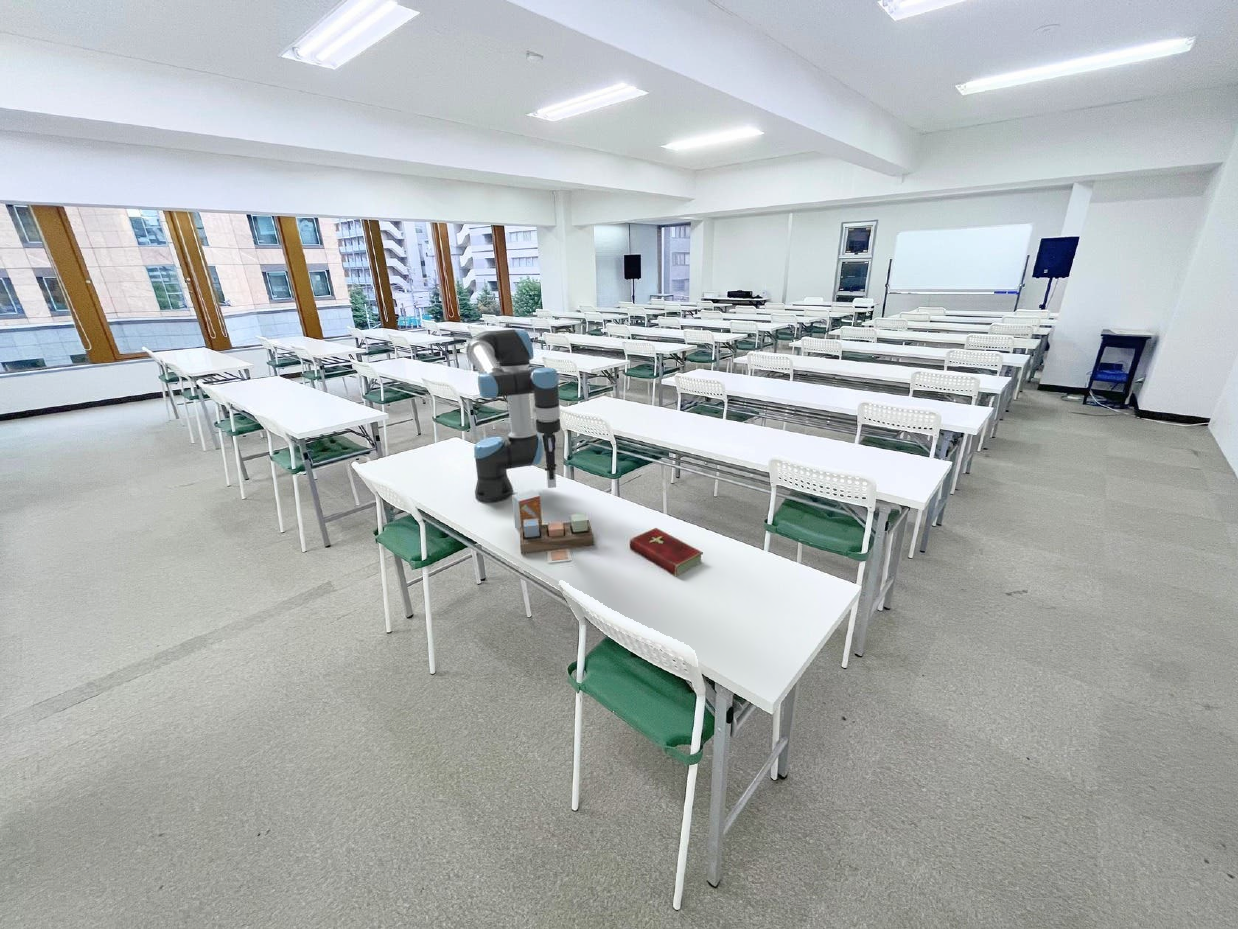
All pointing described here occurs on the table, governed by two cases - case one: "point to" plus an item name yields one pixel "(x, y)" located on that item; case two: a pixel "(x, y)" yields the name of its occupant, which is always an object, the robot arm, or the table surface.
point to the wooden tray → (556, 539)
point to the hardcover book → (665, 551)
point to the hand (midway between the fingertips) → (551, 486)
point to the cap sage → (579, 522)
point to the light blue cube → (531, 527)
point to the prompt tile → (559, 556)
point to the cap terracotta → (555, 529)
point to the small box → (526, 508)
